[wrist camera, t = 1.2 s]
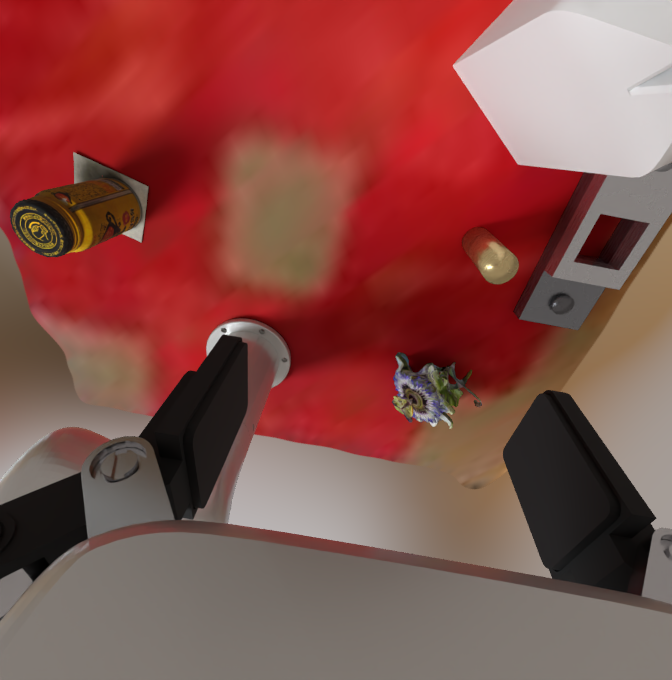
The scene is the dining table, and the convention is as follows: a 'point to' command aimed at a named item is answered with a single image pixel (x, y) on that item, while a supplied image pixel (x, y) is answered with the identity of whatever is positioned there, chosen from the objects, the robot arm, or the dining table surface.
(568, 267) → the grey long rectangular block
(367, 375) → the dining table surface
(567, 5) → the milk
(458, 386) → the passion flower
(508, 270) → the brass pin
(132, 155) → the dining table surface
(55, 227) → the condiment
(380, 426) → the dining table surface
